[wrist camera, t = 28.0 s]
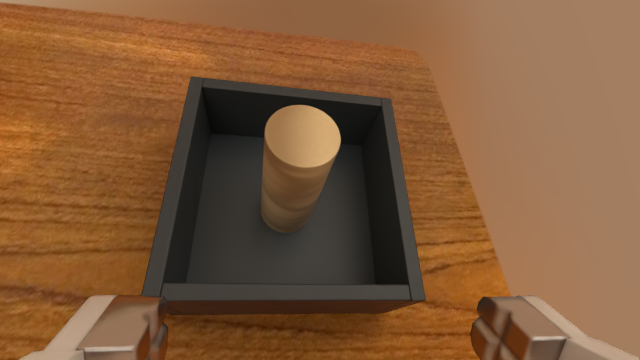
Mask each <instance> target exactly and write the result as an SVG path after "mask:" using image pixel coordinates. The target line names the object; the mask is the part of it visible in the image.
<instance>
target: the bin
mask: <svg viewBox="0 0 640 360" xmlns="http://www.w3.org/2000/svg"><path fill="white" fill-rule="evenodd" d="M291 105H306V106H311V107H314V108H317V109H319V110H321V111H323V112H324V113H326V114H327V115H328V116H329V117H330V118H332V120H333V121H334V122H335V124H336V125H337V127H338V129H339V132H340V137H341V143H340V148H339V150H338V153H337V155H336V158H335V160H334V162H333V165H332V167H331V169H330V172H329V174H328V177H327V179H326V181H325V184H324V186H323V189H322V191H321V193H320V196H319V198H318V200H317V203H316V205H315V208H314V210H313V212H312V215H311V217H310V219H309V221H308V223H307V224H306V225H305V226H304V227H303V228H302V229H300V230H298V231H296V232H293V233H281V232H278V231H275V230H273V229H272V228H270V227H269V226H268V225H267V224H266V223H265V221H264V220H263V218H262V215H261V193H262V172H263V152H264V131H265V126H266V123H267V121H268V120H269V118H270V117H271V116H272V115H273V114H274V113H275V112H276V111H278V110H280V109H282V108H284V107H287V106H291ZM141 296H165V297H166V299H167V309H168V312H167V313H168V314H170V315H226V314H336V313H386V312H389V311H392V310H396V309H399V308H402V307H406V306H409V305H412V304H416V303H419V302H422V301H425V293H424V288H423V282H422V276H421V270H420V264H419V259H418V253H417V247H416V241H415V235H414V229H413V224H412V218H411V212H410V206H409V200H408V194H407V189H406V183H405V177H404V171H403V165H402V160H401V154H400V148H399V142H398V136H397V130H396V125H395V119H394V113H393V107H392V101H391V99H388V98H379V97H370V96H361V95H352V94H343V93H334V92H325V91H317V90H308V89H299V88H290V87H281V86H272V85H263V84H254V83H245V82H236V81H227V80H218V79H209V78H204V79H203V78H200V77H191V78H190V83H189V87H188V92H187V96H186V100H185V105H184V109H183V114H182V118H181V122H180V127H179V131H178V136H177V140H176V145H175V149H174V153H173V158H172V162H171V167H170V171H169V175H168V180H167V184H166V189H165V193H164V197H163V202H162V206H161V211H160V215H159V220H158V224H157V228H156V233H155V237H154V242H153V246H152V250H151V255H150V259H149V264H148V268H147V272H146V277H145V281H144V286H143V290H142V295H141Z"/></svg>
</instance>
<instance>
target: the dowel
mask: <svg viewBox="0 0 640 360" xmlns="http://www.w3.org/2000/svg"><path fill="white" fill-rule="evenodd" d="M340 143H341V137H340V132H339V129H338V127H337V125H336V124H335V122H334V121H333V120H332V118H330V117H329V116H328V115H327V114H326V113H324V112H323V111H321V110H319V109H317V108H314V107H311V106H306V105H291V106H287V107H284V108H282V109H280V110H278V111H276V112H275V113H274V114H273V115H272V116H271V117H270V118H269V120H268V121H267V123H266V126H265V131H264V152H263V172H262V193H261V215H262V218H263V220H264V221H265V223H266V224H267V225H268V226H269V227H270V228H272V229H273V230H275V231H278V232H281V233H293V232H296V231H298V230H300V229H302V228H303V227H304V226H305V225H306V224H307V223H308V221H309V219H310V217H311V215H312V212H313V210H314V208H315V205H316V203H317V200H318V198H319V196H320V193H321V191H322V189H323V186H324V184H325V181H326V179H327V177H328V174H329V172H330V169H331V167H332V165H333V162H334V160H335V158H336V155H337V153H338V150H339V148H340Z"/></svg>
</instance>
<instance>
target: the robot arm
mask: <svg viewBox="0 0 640 360" xmlns="http://www.w3.org/2000/svg"><path fill="white" fill-rule="evenodd" d="M477 311H478V314H479V317H478V318H477V319H476V320H475V321H474V322H473V324H472V328H471V332H470V335H471V342H472V346H473V348H474V351H475V353H476V354H477V356H478V357H479V358H480V360H640V359H639V358H637V357H635V356H633V355H631V354H629V353H627V352H624V351H622V350H620V349H618V348H616V347H614V346H612V345H609V344H607V343H605V342H603V341H601V340H599V339H596V338H589V337H588V336H587V335H586V334H585V333H583V332H582V331H580V330H579V329H578V328H577V327H576V326H574V325H573V324H572V323H571V322H570V321H568V320H567V319H566V318H564V317H563V316H562V315H561V314H560V313H558V312H557V311H556V310H554V309H553V308H552V307H551V306H550V305H548V304H547V303H546V302H544V301H543V300H542V299H541V298H539V297H536V296H516V297H483V298H482V299H481V300H480V301H479V303H478V307H477ZM167 312H168V309H167V299H166V297H165V296H139V295H118V296H117V295H94V296H91V297H89V298H88V299H87V300H86V301H85V302H84V304H83V305H82V306H81V307H80V308H79V309H78V311H77V312H76V313H75V314H74V315H73V316H72V318H71V319H70V320H69V321H68V322H67V323H66V324H65V326H64V327H63V328H62V329H61V330H60V331H59V333H58V334H57V335H56V336H55V337H54V338H53V340H52V341H51V342H50V343H49V344H48V345H47V347H46V348H45V349H44V350H43V351H34V352H32V353H30V354H28V355H26V356H24V357H23V358H21V359H19V360H165V355H166V351H167V346H168V327H167V326H166V324H165V323H164V322H163V321H164V318H165V316H166V314H167Z"/></svg>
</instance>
